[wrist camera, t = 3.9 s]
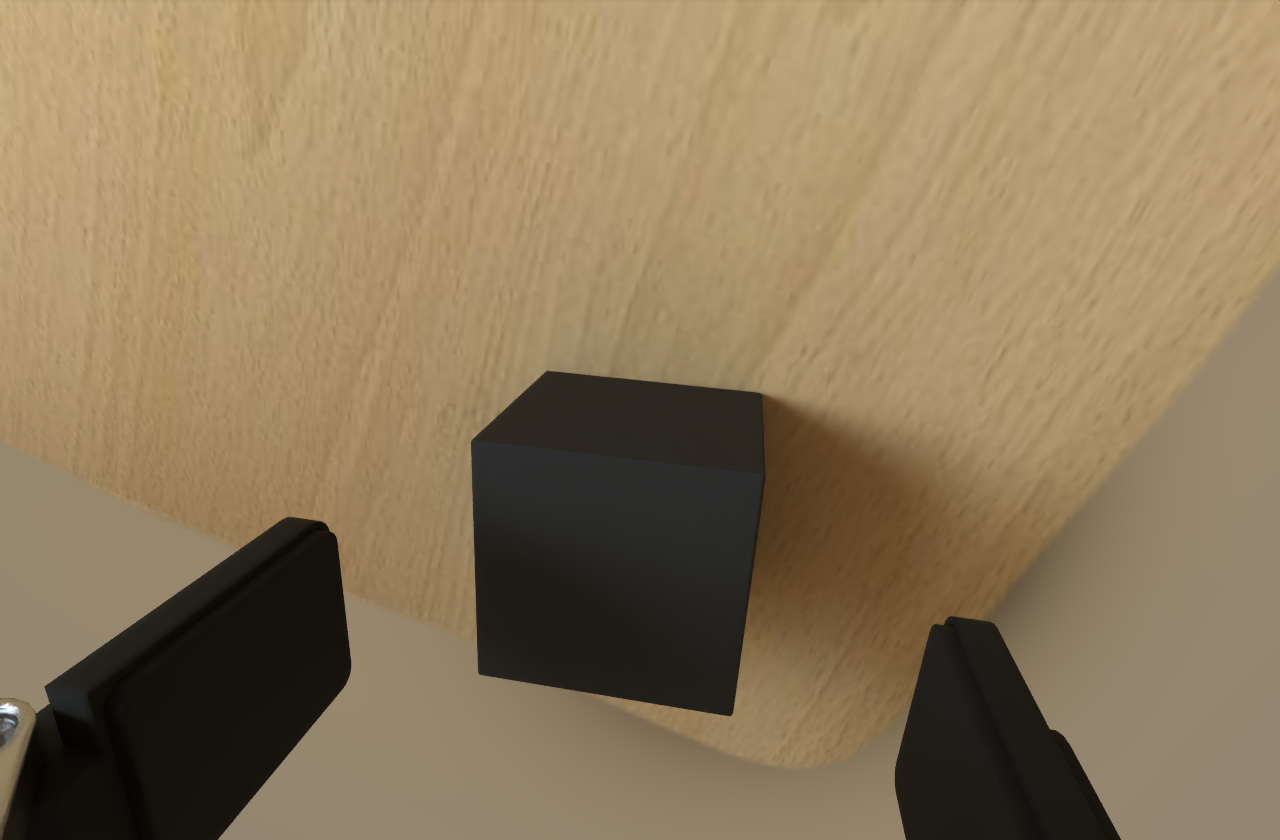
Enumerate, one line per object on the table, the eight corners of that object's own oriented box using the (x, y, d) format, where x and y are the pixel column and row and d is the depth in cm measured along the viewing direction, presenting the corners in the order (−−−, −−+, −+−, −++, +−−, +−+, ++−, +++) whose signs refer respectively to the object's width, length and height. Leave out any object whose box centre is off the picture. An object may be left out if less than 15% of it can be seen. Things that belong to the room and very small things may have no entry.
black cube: (543, 555, 17) (477, 675, 13) (546, 370, 16) (469, 439, 11) (737, 583, 17) (732, 717, 12) (762, 392, 15) (765, 475, 11)
